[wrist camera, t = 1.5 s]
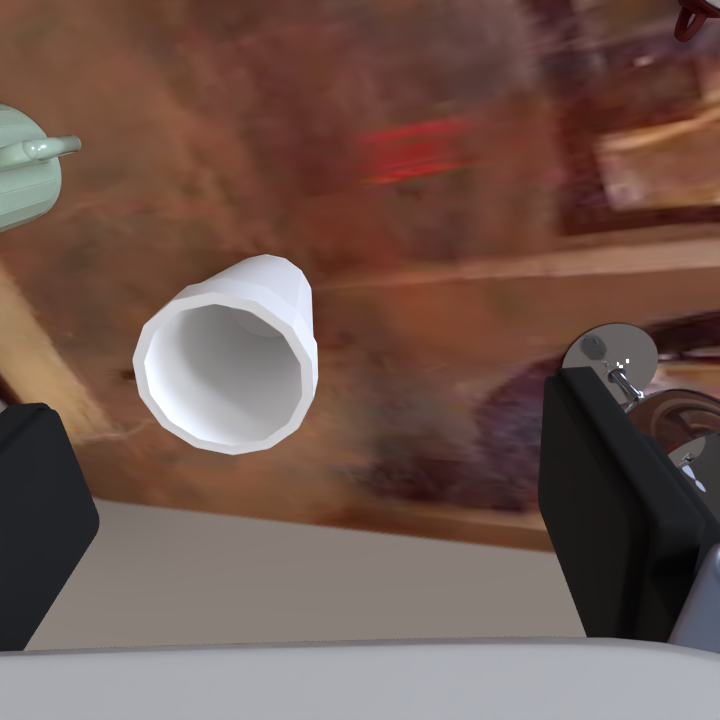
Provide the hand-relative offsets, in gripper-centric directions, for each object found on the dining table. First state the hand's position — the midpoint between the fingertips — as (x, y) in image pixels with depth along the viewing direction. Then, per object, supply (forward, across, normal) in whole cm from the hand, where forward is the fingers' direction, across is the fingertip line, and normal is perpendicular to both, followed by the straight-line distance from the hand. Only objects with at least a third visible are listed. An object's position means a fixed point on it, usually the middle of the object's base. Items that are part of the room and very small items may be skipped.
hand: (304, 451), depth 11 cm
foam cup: (+30, +7, +7) cm, 31 cm away
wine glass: (+30, -18, +15) cm, 37 cm away
